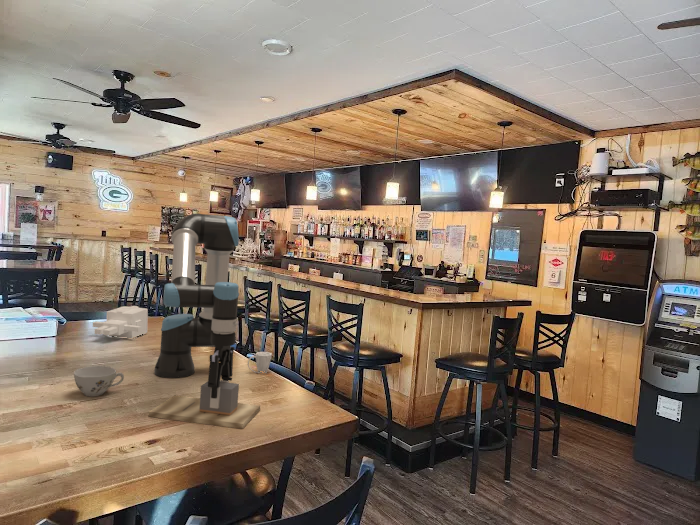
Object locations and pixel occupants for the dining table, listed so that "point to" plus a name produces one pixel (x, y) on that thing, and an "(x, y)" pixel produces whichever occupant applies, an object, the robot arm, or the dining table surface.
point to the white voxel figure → (124, 322)
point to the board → (190, 407)
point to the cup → (262, 361)
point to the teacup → (96, 379)
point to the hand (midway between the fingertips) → (218, 403)
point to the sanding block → (227, 398)
